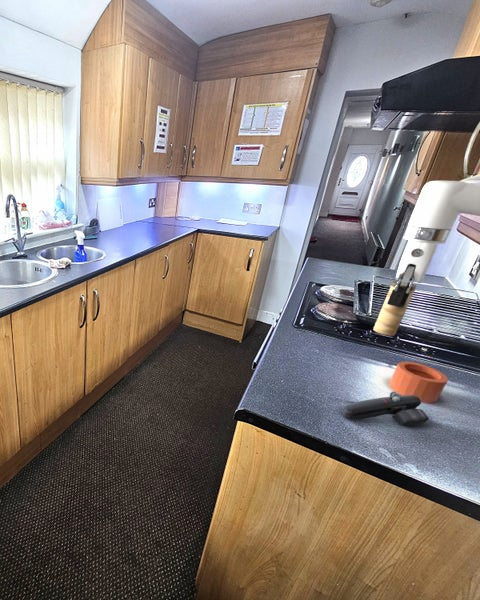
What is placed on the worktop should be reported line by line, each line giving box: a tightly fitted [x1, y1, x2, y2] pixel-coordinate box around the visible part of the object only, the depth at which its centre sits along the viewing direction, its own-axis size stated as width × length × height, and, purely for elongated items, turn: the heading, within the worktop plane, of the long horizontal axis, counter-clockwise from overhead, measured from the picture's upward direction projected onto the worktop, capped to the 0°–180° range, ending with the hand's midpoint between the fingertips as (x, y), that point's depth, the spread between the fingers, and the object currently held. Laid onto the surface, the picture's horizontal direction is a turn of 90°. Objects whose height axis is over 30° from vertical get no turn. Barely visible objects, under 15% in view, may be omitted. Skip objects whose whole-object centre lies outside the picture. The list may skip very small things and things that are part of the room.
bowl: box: [388, 361, 449, 404], centre depth 83 cm, size 9×9×7 cm
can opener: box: [342, 390, 430, 426], centre depth 75 cm, size 18×7×6 cm, turn 91°
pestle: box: [372, 280, 417, 337], centre depth 87 cm, size 5×5×14 cm
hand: (396, 302), depth 86 cm, fingers closed on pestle, 4 cm apart
